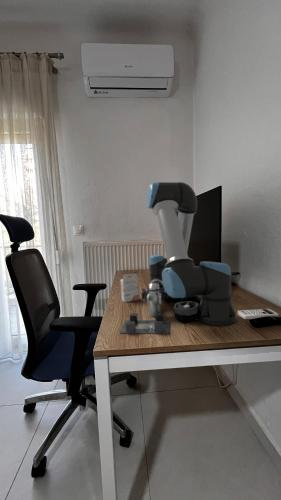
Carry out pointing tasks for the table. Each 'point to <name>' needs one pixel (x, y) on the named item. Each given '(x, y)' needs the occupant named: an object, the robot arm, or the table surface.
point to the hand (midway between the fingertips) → (153, 300)
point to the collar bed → (145, 325)
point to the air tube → (154, 299)
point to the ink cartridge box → (129, 288)
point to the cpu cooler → (186, 311)
